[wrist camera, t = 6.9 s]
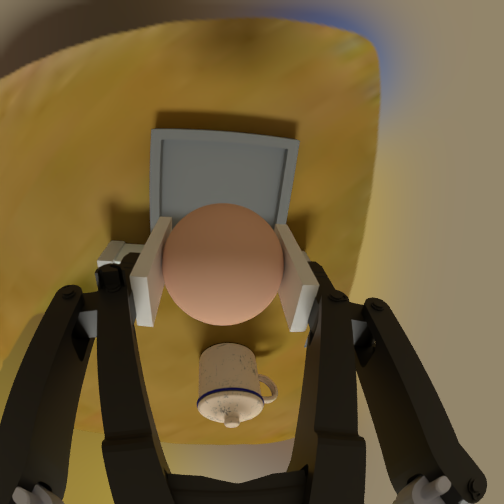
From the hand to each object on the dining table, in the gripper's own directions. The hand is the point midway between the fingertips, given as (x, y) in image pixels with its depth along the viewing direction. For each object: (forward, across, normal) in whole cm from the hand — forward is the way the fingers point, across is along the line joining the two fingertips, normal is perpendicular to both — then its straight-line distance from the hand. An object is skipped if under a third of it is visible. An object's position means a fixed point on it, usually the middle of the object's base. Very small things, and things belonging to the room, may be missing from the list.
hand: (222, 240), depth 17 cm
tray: (+12, 0, 0) cm, 12 cm away
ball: (-3, 0, 0) cm, 3 cm away
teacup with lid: (+12, +4, -26) cm, 29 cm away
